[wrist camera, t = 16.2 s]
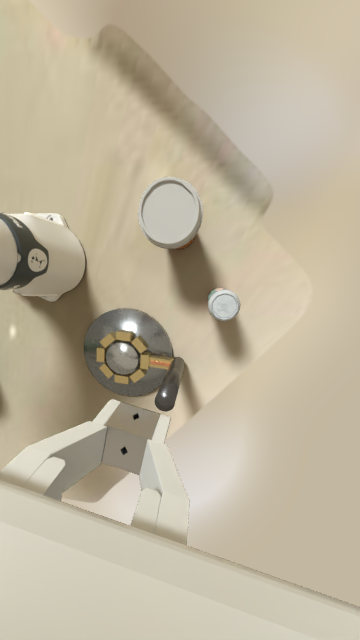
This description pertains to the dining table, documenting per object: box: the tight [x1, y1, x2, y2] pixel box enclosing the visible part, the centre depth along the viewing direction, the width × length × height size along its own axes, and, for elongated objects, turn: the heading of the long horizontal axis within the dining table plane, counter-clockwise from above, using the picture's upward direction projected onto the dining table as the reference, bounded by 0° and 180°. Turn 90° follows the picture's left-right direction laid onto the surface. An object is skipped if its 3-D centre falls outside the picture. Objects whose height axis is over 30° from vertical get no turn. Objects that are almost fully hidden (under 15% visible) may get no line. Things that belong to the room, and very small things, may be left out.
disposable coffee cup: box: [138, 177, 203, 249], centre depth 33 cm, size 10×10×12 cm
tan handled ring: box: [97, 329, 185, 411], centre depth 36 cm, size 19×12×14 cm, turn 84°
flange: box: [84, 308, 173, 396], centre depth 43 cm, size 21×21×4 cm
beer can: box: [208, 288, 240, 321], centre depth 34 cm, size 5×5×12 cm
